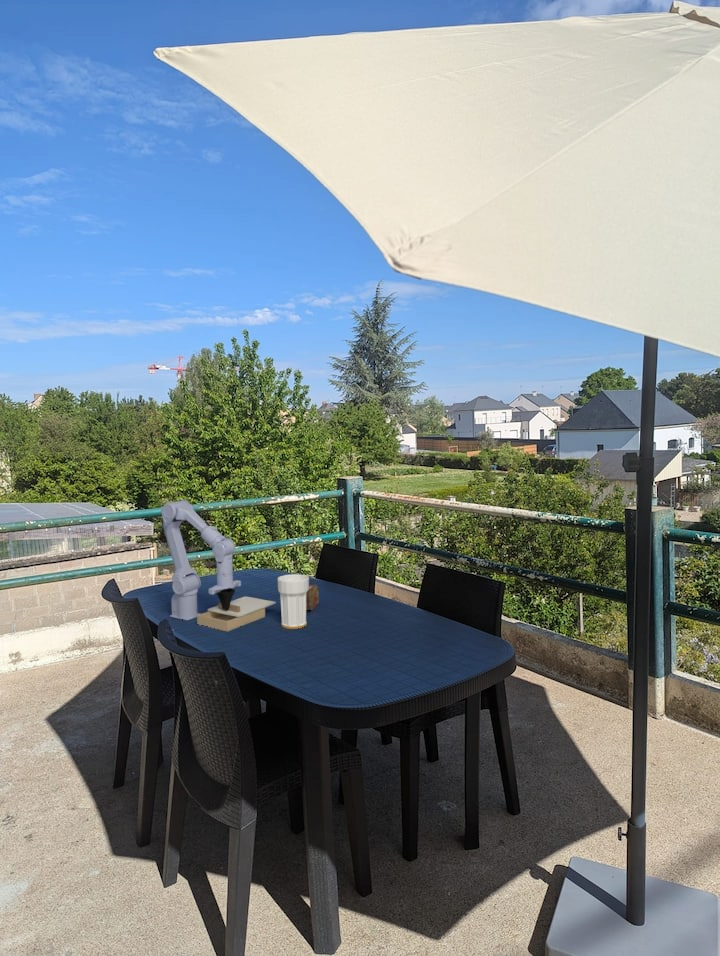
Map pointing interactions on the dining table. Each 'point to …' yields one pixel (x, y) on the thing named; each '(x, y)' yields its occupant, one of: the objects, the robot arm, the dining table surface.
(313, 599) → the tin
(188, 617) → the robot arm
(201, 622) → the box
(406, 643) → the dining table surface
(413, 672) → the dining table surface
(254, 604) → the mailer lid
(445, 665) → the dining table surface
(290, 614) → the cup
